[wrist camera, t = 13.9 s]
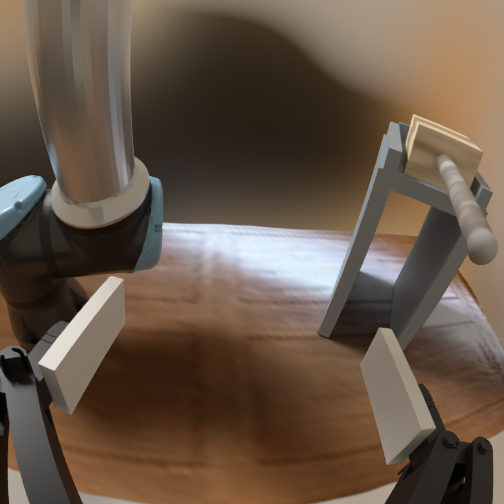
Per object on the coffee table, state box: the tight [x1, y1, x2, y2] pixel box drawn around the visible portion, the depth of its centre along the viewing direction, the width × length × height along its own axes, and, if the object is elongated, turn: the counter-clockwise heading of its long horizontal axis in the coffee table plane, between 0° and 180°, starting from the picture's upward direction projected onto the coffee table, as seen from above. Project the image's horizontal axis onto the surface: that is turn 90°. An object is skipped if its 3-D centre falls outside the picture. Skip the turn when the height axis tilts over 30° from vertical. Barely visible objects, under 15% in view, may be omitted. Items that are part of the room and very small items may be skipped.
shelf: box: [318, 122, 493, 351], centre depth 43 cm, size 20×14×31 cm
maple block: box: [402, 115, 498, 265], centre depth 24 cm, size 27×8×6 cm, turn 155°
